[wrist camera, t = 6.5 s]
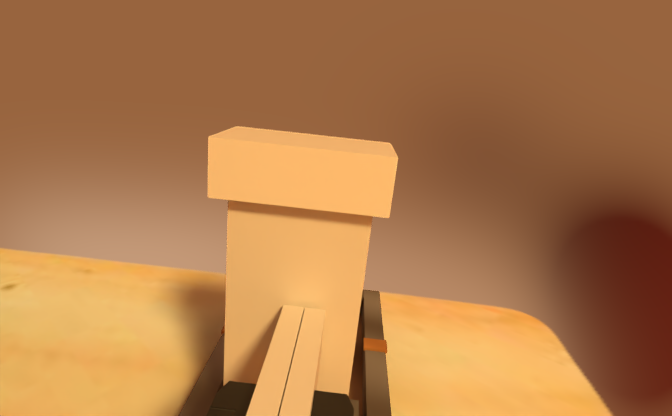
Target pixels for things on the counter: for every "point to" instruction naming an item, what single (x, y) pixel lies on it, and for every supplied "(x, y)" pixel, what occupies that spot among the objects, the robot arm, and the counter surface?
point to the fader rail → (365, 375)
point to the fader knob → (296, 238)
